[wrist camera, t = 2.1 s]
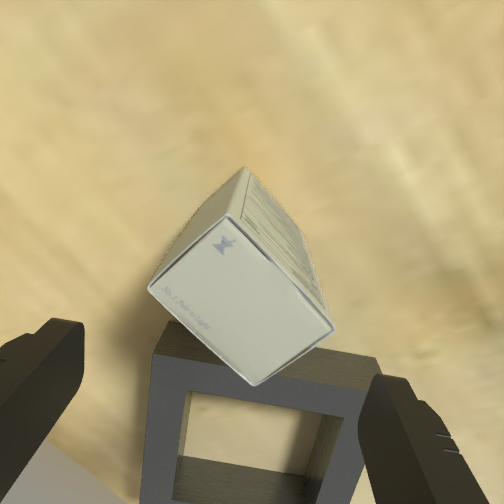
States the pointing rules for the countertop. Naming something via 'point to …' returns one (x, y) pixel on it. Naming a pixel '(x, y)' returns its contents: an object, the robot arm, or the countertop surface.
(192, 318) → the skincare box
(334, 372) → the dark grey square frame
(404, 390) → the robot arm
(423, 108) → the countertop surface
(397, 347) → the countertop surface
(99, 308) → the countertop surface
